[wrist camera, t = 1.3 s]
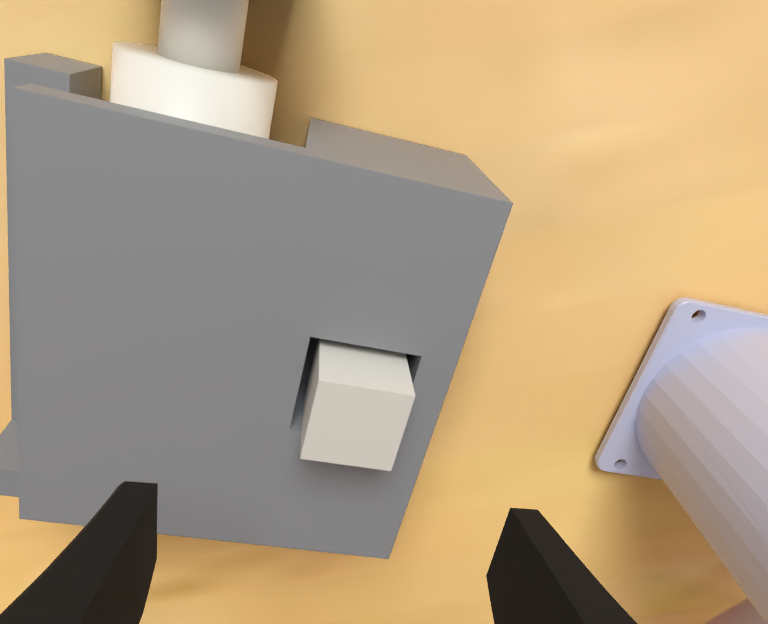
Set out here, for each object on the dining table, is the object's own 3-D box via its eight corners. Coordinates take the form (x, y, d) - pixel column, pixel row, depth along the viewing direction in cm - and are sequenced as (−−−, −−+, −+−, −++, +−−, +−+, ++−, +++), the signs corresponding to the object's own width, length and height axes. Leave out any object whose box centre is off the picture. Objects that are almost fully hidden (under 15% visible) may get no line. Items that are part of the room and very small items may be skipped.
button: (403, 345, 17) (415, 395, 15) (383, 413, 18) (390, 471, 16) (319, 330, 16) (318, 380, 14) (303, 401, 17) (300, 458, 15)
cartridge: (312, -106, 15) (307, -155, 11) (230, 387, 22) (206, 483, 17) (152, -157, 15) (76, -231, 10) (116, 369, 21) (60, 465, 17)
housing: (465, 155, 19) (512, 203, 14) (376, 449, 24) (388, 558, 19) (45, 52, 17) (-69, 68, 12) (43, 401, 22) (-38, 512, 17)
